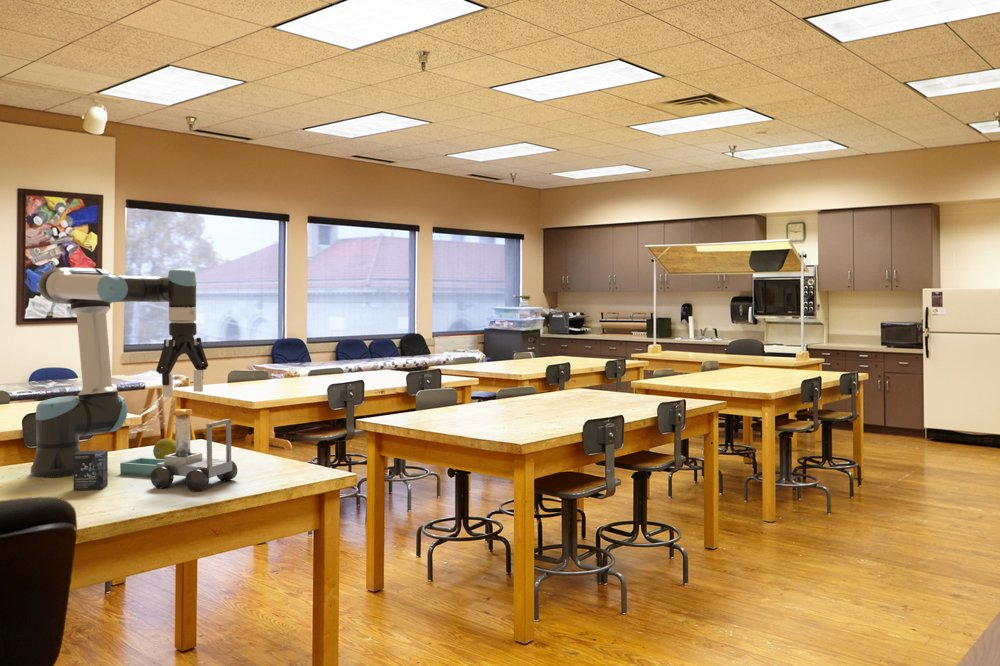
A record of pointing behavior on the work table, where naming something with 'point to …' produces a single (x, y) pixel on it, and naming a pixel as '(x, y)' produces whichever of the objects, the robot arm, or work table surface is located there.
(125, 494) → the work table surface
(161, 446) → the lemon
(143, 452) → the work table surface
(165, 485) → the trolley
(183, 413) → the clear tube with cap
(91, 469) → the box
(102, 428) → the robot arm
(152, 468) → the tray
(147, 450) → the work table surface
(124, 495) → the work table surface
